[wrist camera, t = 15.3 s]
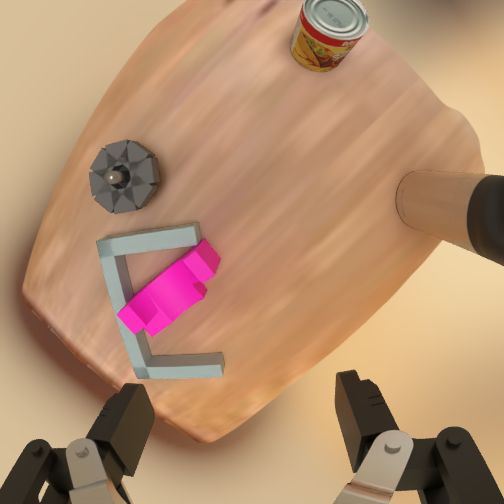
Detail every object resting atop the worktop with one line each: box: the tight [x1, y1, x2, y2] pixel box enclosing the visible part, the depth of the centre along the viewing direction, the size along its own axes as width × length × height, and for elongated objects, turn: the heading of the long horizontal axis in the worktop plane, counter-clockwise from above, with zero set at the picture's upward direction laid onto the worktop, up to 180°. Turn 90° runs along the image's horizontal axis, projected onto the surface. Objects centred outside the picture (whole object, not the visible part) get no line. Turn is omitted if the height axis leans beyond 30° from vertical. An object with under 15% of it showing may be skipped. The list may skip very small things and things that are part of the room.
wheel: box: [89, 140, 160, 214], centre depth 35 cm, size 9×9×2 cm
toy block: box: [117, 238, 221, 337], centre depth 41 cm, size 15×6×8 cm, turn 127°
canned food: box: [290, 0, 370, 72], centre depth 29 cm, size 8×8×12 cm
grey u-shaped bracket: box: [96, 222, 224, 379], centre depth 43 cm, size 15×24×4 cm, turn 7°
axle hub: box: [104, 166, 131, 188], centre depth 35 cm, size 4×4×10 cm
